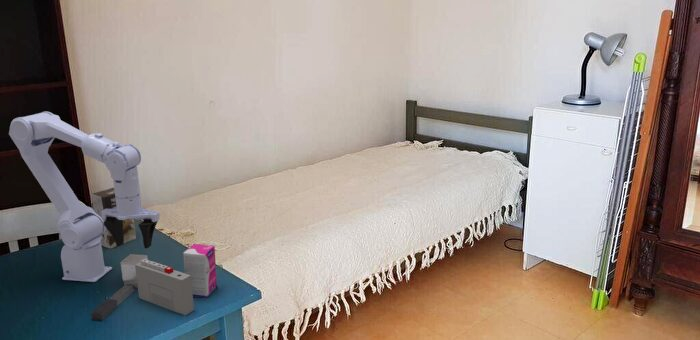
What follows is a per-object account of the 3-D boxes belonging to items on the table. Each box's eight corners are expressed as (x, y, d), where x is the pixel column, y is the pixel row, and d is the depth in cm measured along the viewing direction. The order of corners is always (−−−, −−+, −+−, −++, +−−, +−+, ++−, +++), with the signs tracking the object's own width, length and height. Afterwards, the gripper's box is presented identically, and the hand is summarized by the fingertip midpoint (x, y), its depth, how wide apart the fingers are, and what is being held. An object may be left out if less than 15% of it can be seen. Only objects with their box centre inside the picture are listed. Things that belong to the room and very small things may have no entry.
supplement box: (208, 298, 132) (204, 254, 129) (185, 295, 133) (181, 252, 130) (218, 286, 137) (214, 245, 134) (196, 284, 138) (192, 243, 135)
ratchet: (132, 278, 142) (130, 263, 141) (153, 279, 141) (152, 264, 140) (85, 319, 123) (82, 302, 122) (109, 321, 122) (107, 304, 121)
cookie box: (110, 249, 159) (103, 197, 155) (97, 244, 163) (89, 193, 158) (137, 238, 167) (131, 188, 162) (124, 234, 170) (117, 185, 165)
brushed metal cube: (122, 280, 137) (120, 261, 135) (132, 272, 141) (130, 254, 140) (139, 281, 136) (137, 263, 134) (149, 273, 140) (147, 255, 139)
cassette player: (194, 310, 127) (190, 271, 124) (185, 315, 124) (181, 276, 122) (148, 293, 134) (143, 256, 131) (139, 298, 132) (134, 260, 129)
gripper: (90, 198, 131) (98, 250, 135) (146, 201, 129) (152, 254, 133) (108, 189, 138) (115, 238, 142) (161, 192, 135) (166, 242, 139)
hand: (134, 245), depth 138 cm, fingers open, 7 cm apart
